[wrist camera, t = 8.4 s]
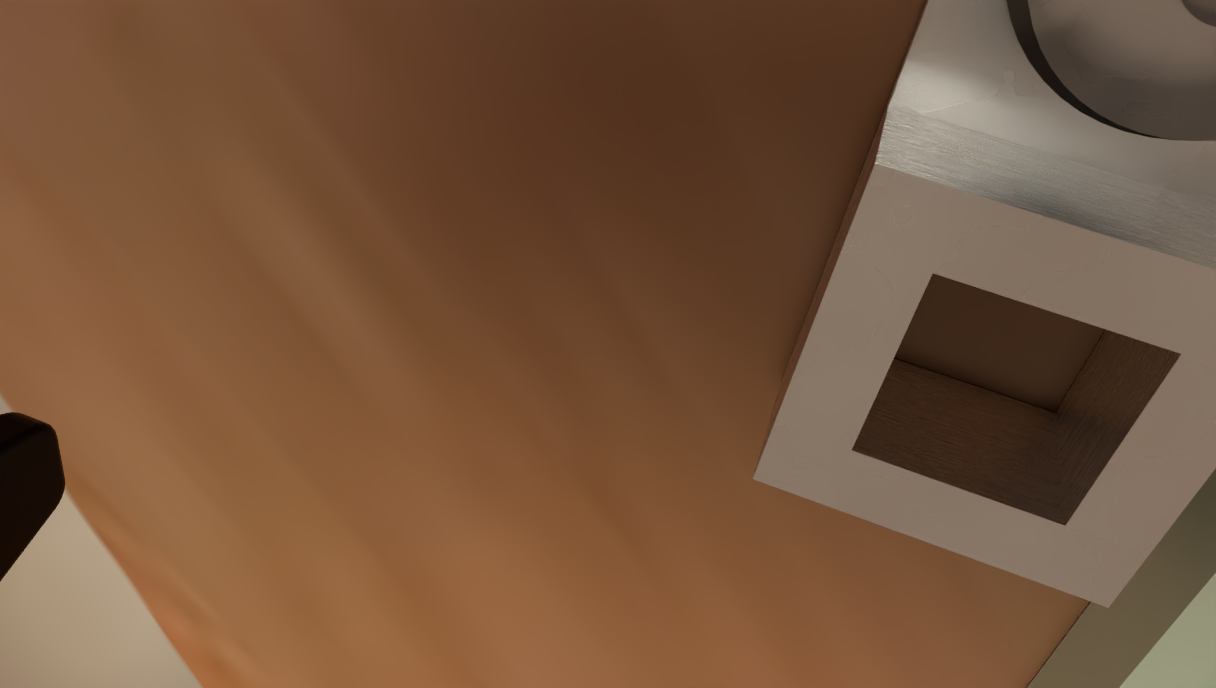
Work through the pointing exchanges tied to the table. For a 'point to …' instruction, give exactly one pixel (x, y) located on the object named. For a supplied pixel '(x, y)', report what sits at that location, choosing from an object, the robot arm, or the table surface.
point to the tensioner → (1024, 290)
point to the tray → (1151, 617)
